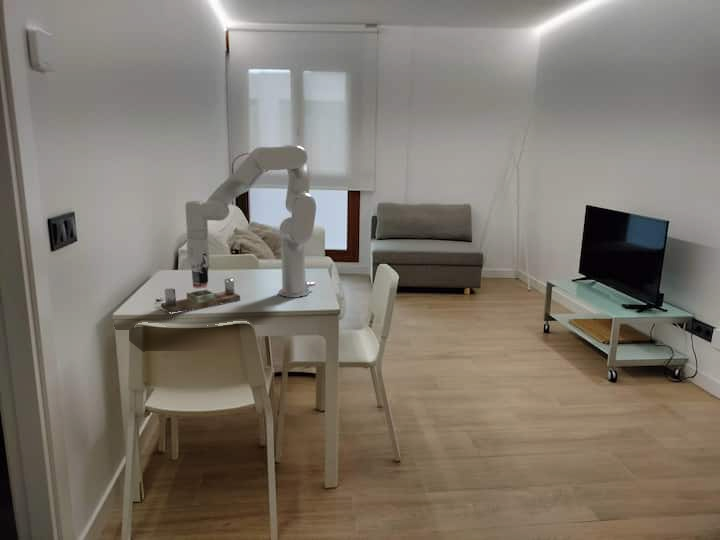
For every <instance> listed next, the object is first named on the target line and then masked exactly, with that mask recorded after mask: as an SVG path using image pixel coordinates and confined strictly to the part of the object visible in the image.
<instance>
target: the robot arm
mask: <svg viewBox="0 0 720 540" xmlns="http://www.w3.org/2000/svg"><path fill="white" fill-rule="evenodd" d="M307 161H308V153H307V151H306V149H305V148H304V147H302V146H301V145H296V144H295V145H293V144H285V145H283V146H274V147H273V146H259V147H256V148H255V149H253V150H252V151H251V152H250V153H249V154H248V155H247V156H246V157H245V159H244V160H243V161H242V163H240V164H239V166H238V167H237V168H236V169H235V170H234V172H233V173H232V174H231V175H230V176H228V178H226V180H225V181H224V182H223V183H221V184H220V185H219V186H218V187H217V188H216V190H215V191H213V193H212V194H211V195H210V196H209V197H208V198H207V200H206V201H203V200H189V201H186V203H185V205H184V206H185V218H186V219H185V220H186V223H185V224H186V237H187V238H186V239H187V241H186V254H187V255H186V259H187V262H188V263H189V264H190V267H191V268H190V269H191V270H192V269H193V268H194V265H196V266H199V269H200V273H199V281H200V283H207V284H208V283H209V268H210V266H211V265H210V249H209V242H208V238H209V230H208V229H209V227H208V221H214V222H215V221H216V222H218V221H219V222H221V221H224V220H225V219H227V217H229V215H230V208H229V206H230V204H231V203H232V202H233V201H234V200H235V199H236V198H238V197H239V196H240V195H242V194H245V193H246V192H248V191H249V190H250V189H252V188H253V186H254V185H255V184H256V183H257V182H258V180H259V179H260V178H261V177H262V176H263V175H265V173H266V171H281V170H282V171H283V170H286V171H287V173H288V174H287V175H288V183H287V189H286V190H287V191H286V198H285V208H286V210H287V211H288V212H289V213H290V214H291V217H286V218H285V219H283V220H282V222H281V223H280V225H279V238H280V246H281V247H280V248H281V249H280V250H281V283H282V286H281V287H282V288H280V289H279V290H278V295H279V296H281V295H282V296H281V297H284V296H286V297H285V298H301V297H300V296H302V297H305V295H306V296H308V295H309V294H310V289H309V288H311V287H315V286H316V283H315V281H310V282H309V281H306V246H305V244H307V243H308V242H310V241H311V239H312V236H313V232H314V227H315V219H316V214H317V213H316V211H317V203H316V200H315V198H314V196H312V194H310V184H311V171H310V168H309V166H308V163H307ZM201 263H204V264H201ZM202 266H204V267H203V268H202ZM191 277H192V278H191V279H192V280H193V276H192V275H191Z"/></svg>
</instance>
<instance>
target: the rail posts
mask: <svg viewBox="0 0 720 540" xmlns="http://www.w3.org/2000/svg"><path fill="white" fill-rule="evenodd" d="M224 292H225V295H234V293H235V279H234V278H232V277H231V278H230V277H229V278H225V279H224ZM176 297H177V296H176V288H172V287H171V288H166V289H164V299H165V303H166V306H167V307H173V306H176V301H177V300H176Z"/></svg>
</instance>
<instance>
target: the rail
mask: <svg viewBox="0 0 720 540" xmlns="http://www.w3.org/2000/svg"><path fill="white" fill-rule="evenodd" d="M236 300H240V301H241V295H240V294H238V293H236V292H234V295H225V291H222V292H213V291H211V290H209V289H207V288H204V289H201V290H195V291H194V290H193V291H189V292H186V298H184V299H179V300H176V306H173V307H167V306H166V302H163V303H160V308H161V307H162V308H163V309H165V310H167V311H168V312H171V313H172V312H178V311H185V310H191V311H193V310H192V309H195V310H199V309H198V308H200V309H204V308H203V307H205V308H209V307H208V306H210V307H214V306H213V305H215V306H217V305H216V304H220V303H225V304H227V303H226V302H230V303H232V302H231V301H235V302H237V301H236ZM220 305H221V304H220ZM163 309H162V310H163ZM168 312H167V313H168Z"/></svg>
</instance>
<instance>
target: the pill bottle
mask: <svg viewBox="0 0 720 540" xmlns="http://www.w3.org/2000/svg"><path fill="white" fill-rule="evenodd" d="M201 264H204V263H201ZM203 267H204V266H202V268H203ZM199 273H200V269H199V266H196V265H194V268H193V269H191V277H192V276H193V279H192V288H194V289H207V287H209V286H208V285H209V284H208V282H207V283H200V281H199Z"/></svg>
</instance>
